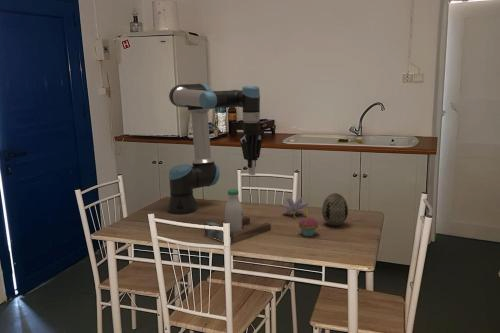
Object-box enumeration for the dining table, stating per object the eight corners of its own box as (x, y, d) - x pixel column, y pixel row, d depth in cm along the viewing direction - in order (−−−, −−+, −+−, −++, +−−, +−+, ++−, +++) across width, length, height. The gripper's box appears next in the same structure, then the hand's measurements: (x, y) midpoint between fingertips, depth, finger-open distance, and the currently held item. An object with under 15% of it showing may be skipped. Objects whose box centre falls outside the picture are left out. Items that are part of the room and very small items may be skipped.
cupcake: (295, 232, 198) (295, 206, 196) (312, 230, 201) (312, 204, 199) (304, 239, 190) (304, 211, 188) (322, 236, 193) (322, 209, 191)
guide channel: (204, 235, 196) (204, 222, 195) (246, 222, 213) (246, 210, 212) (229, 244, 185) (228, 230, 184) (270, 229, 202) (270, 217, 201)
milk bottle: (240, 237, 193) (239, 192, 189) (223, 236, 195) (221, 192, 191) (244, 231, 200) (243, 188, 196) (228, 230, 202) (226, 187, 198)
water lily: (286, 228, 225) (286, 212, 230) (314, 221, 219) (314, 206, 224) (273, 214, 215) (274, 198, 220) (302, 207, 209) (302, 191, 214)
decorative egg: (317, 225, 207) (317, 194, 204) (330, 219, 215) (331, 189, 212) (339, 231, 199) (340, 198, 196) (352, 224, 208) (353, 193, 205)
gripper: (246, 123, 189) (247, 178, 194) (267, 121, 198) (268, 173, 203) (234, 122, 194) (235, 175, 199) (255, 120, 203) (256, 170, 208)
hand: (251, 174), depth 201 cm, fingers closed
